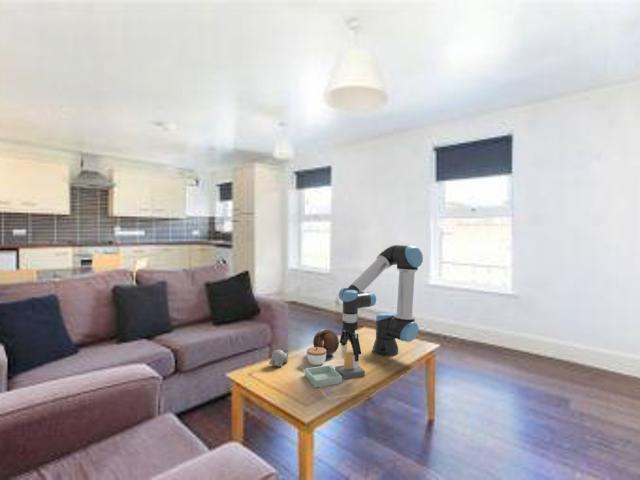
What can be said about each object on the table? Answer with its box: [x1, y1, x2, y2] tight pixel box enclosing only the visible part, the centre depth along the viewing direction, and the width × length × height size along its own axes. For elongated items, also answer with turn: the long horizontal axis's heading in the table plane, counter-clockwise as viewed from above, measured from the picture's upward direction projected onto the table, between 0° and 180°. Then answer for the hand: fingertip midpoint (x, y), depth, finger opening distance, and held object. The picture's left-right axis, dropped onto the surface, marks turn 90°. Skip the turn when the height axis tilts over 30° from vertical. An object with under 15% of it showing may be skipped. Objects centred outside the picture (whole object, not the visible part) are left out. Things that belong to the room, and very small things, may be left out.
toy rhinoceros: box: [269, 349, 290, 368], centre depth 197 cm, size 7×12×8 cm, turn 140°
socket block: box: [334, 364, 366, 380], centre depth 185 cm, size 12×10×3 cm
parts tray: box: [304, 364, 343, 389], centre depth 178 cm, size 14×16×4 cm
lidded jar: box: [306, 346, 327, 366], centre depth 198 cm, size 11×11×9 cm
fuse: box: [343, 349, 354, 370], centre depth 184 cm, size 5×3×12 cm, turn 111°
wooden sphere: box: [312, 328, 340, 357], centre depth 212 cm, size 15×15×15 cm
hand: (349, 362), depth 184 cm, fingers open, 13 cm apart
